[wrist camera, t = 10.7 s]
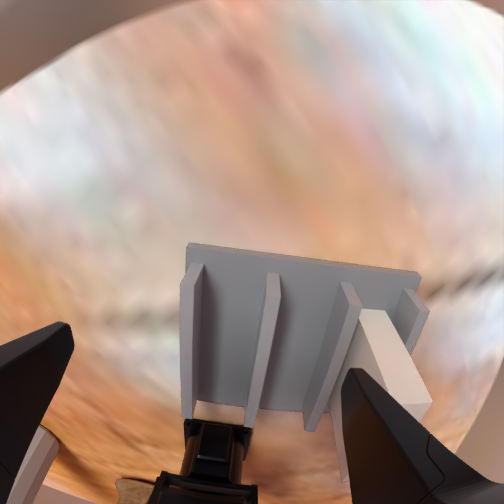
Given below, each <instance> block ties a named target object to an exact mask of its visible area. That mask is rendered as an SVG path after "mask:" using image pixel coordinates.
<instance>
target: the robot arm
mask: <svg viewBox="0 0 504 504" xmlns="http://www.w3.org/2000/svg"><path fill="white" fill-rule="evenodd" d="M73 350H74V340H73V335H72V331H71V327H70V325H69V324H67V323H64V322H60V321H59V322H56V323H53V324H51V325H49V326H46V327H44V328H41V329H39V330H37V331H34V332H32V333H29V334H27V335H25V336H22V337H20V338H18V339H15V340H13V341H10V342H8V343H6V344H3V345H1V346H0V504H6V503H7V501H8V498H9V495H10V493H11V490H12V487H13V485H14V482H15V479H16V477H17V474H18V472H19V469H20V467H21V465H22V462H23V460H24V458H25V455H26V453H27V451H28V448H29V446H30V444H31V442H32V440H33V437H34V435H35V433H36V431H37V429H38V427H39V425H40V423H41V420H42V418H43V416H44V414H45V412H46V410H47V408H48V406H49V404H50V402H51V400H52V398H53V396H54V394H55V393H56V391H57V389H58V387H59V384H60V382H61V380H62V377H63V375H64V372H65V370H66V367H67V365H68V362H69V360H70V358H71V355H72V353H73ZM341 411H342V433H343V440H344V447H345V453H346V460H347V466H348V473H349V480H350V488H351V495H352V503H353V504H504V484H501V483H495V482H493V481H490V480H488V479H486V478H485V477H483V476H482V475H481V474H479V473H478V472H477V471H475V470H474V469H473V468H471V467H470V466H469V465H467V464H466V463H465V462H463V461H462V460H461V459H460V458H458V457H457V456H456V455H455V454H453V453H452V452H451V451H450V450H448V449H447V448H446V447H445V446H444V445H443V444H442V443H441V442H440V441H438V440H437V439H436V438H435V437H434V436H433V435H432V434H430V432H429V431H428V430H427V429H426V428H425V427H424V426H423V425H421V424H420V423H419V422H418V421H417V420H416V419H415V418H414V417H413V416H412V415H411V414H410V413H409V412H408V411H407V410H406V409H405V408H404V407H403V406H402V405H400V404H399V403H398V402H397V401H396V400H395V399H394V398H393V397H392V396H391V395H390V394H389V393H388V392H387V391H386V390H385V389H384V388H383V387H382V386H381V385H380V384H379V383H378V382H376V381H375V380H374V379H373V378H372V377H371V376H370V375H369V374H368V373H367V372H366V371H365V370H364V369H363V368H353V367H352V368H349V370H348V371H347V374H346V376H345V379H344V381H343V384H342V386H341ZM250 436H251V428H250V427H244V426H237V425H229V424H222V423H215V422H208V421H202V420H196V419H188V418H186V419H185V421H184V437H185V454H184V459H183V463H182V467H181V471H180V475H176V474H172V473H168V472H166V471H162V472H161V475H160V477H157V479H156V482H155V486H154V488H153V491H152V493H151V495H150V497H149V498H148V500H147V502H146V503H145V504H258V485H253V484H252V485H243V484H241V477H242V465H243V461H244V460H245V458H246V454H247V449H248V445H249V440H250Z"/></svg>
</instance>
